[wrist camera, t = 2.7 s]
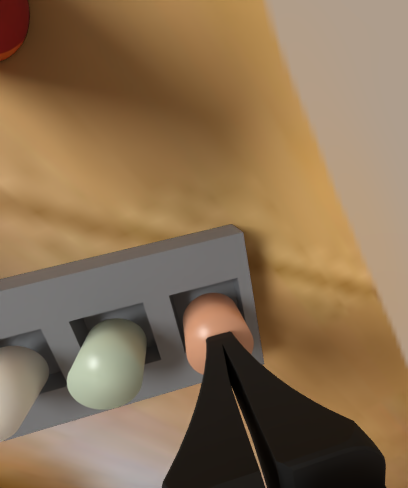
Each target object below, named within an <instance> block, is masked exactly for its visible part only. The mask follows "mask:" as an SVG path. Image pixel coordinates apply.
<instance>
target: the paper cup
mask: <svg viewBox="0 0 408 488" xmlns="http://www.w3.org/2000/svg"><path fill="white" fill-rule="evenodd" d="M29 19H30V12H29V3H28V0H0V61H2V60H5V59H7V58H8V57H10V56H11V55H13V54H14V53H15V52H16V51H17V50H18V49H19V48H20V46H21V45H22V43H23V41H24V40H25V37H26V35H27V31H28V27H29Z"/></svg>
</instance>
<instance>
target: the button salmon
mask: <svg viewBox="0 0 408 488" xmlns="http://www.w3.org/2000/svg"><path fill="white" fill-rule="evenodd" d="M183 327H184V336H185V345H186V354H187V359H188V362H189V364H190V365H191V366H192V368H193V369H194V370H195V371H197V372H198V373H200V374H202V375H203V374H204V368H205V360H206V339H207V337H211V336H215V335H218V334H222V333H225V332H229V331H230V332H232V333H233V334H234V336H235V337H236V338H237V340H238V341H239V342H240V343H241V344H242V345H243V347H244V348H245V349H246V350H247V351H248V352H249V353H250V354H252V351H253V347H254V341H253V336H252V334H251V332H250V330H249V328H248V326H247V324H246V322H245V321H244V319H243V317H242V315H241V313H240V311H239V310H238V308H237V306H236V304H235V303H234V301H233V300H232V299H231V298H229V297H228V296H226V295H224V294H221V293H207V294H203V295H201V296H198V297H197V298H195V299H194V300H193V301H192V302H191V303H190V304H189V305H188V306H187V308H186V309H185V312H184V315H183Z"/></svg>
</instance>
